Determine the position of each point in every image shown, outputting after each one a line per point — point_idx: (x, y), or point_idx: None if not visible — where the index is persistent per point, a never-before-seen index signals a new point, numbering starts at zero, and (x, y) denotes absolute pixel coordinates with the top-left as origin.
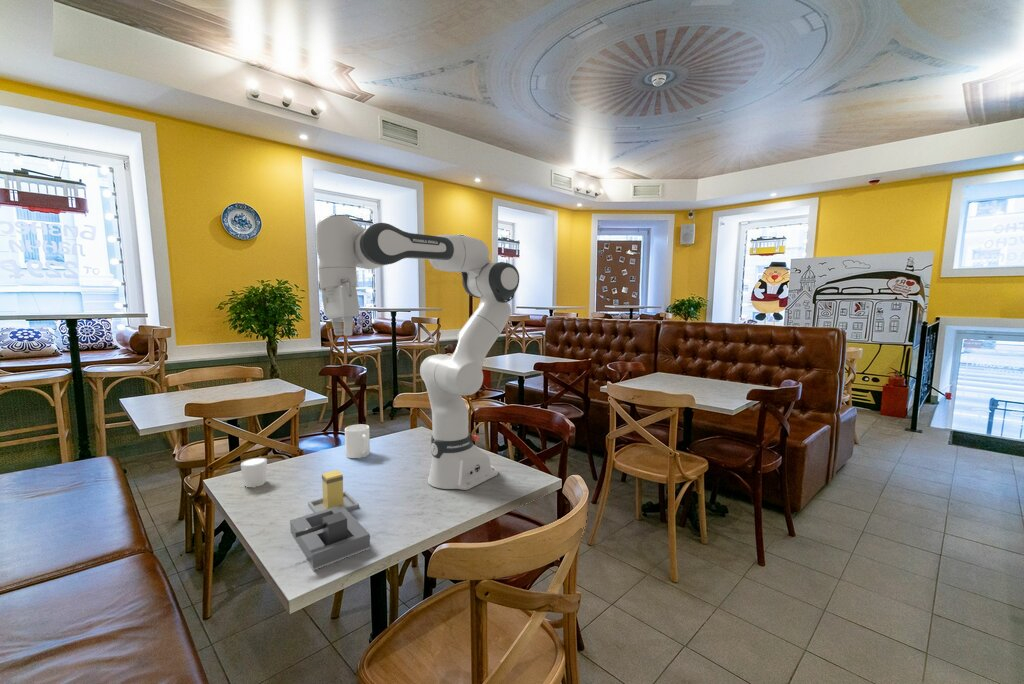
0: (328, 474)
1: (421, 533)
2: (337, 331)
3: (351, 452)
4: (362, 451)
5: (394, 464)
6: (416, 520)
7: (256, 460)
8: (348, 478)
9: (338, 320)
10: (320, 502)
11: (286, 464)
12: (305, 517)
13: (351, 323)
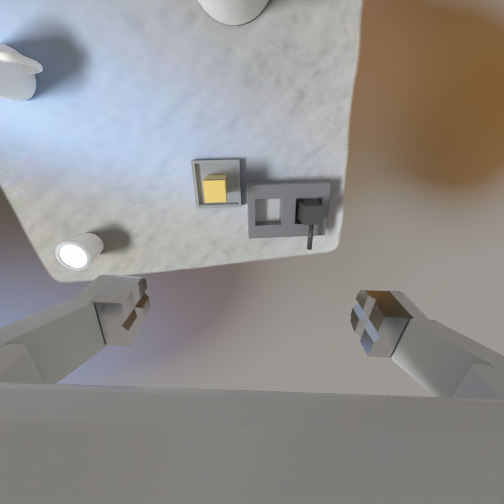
0: (213, 196)
1: (340, 121)
2: (138, 319)
3: (24, 93)
4: (30, 71)
5: (100, 30)
6: (311, 110)
7: (68, 253)
8: (130, 135)
9: (25, 381)
10: (198, 194)
11: (24, 199)
12: (253, 225)
13: (481, 357)
